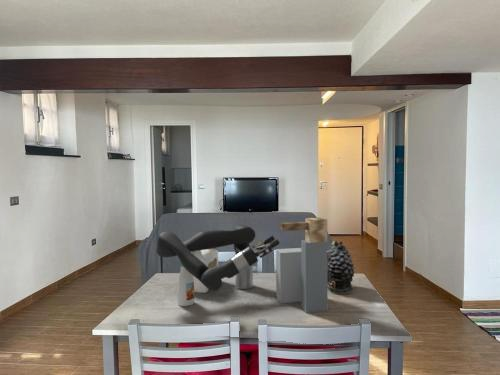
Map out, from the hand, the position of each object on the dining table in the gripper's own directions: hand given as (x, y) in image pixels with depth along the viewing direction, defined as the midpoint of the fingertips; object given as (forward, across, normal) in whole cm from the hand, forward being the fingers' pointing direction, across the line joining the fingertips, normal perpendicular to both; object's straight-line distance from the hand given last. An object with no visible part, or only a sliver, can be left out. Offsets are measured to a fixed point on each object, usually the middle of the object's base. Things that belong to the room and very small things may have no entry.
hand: (276, 239), depth 151 cm
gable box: (-44, +44, +13) cm, 63 cm away
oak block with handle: (+10, 0, +8) cm, 13 cm away
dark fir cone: (+18, +23, +48) cm, 56 cm away
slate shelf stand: (-5, +8, +35) cm, 36 cm away
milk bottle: (-51, +19, +9) cm, 55 cm away
